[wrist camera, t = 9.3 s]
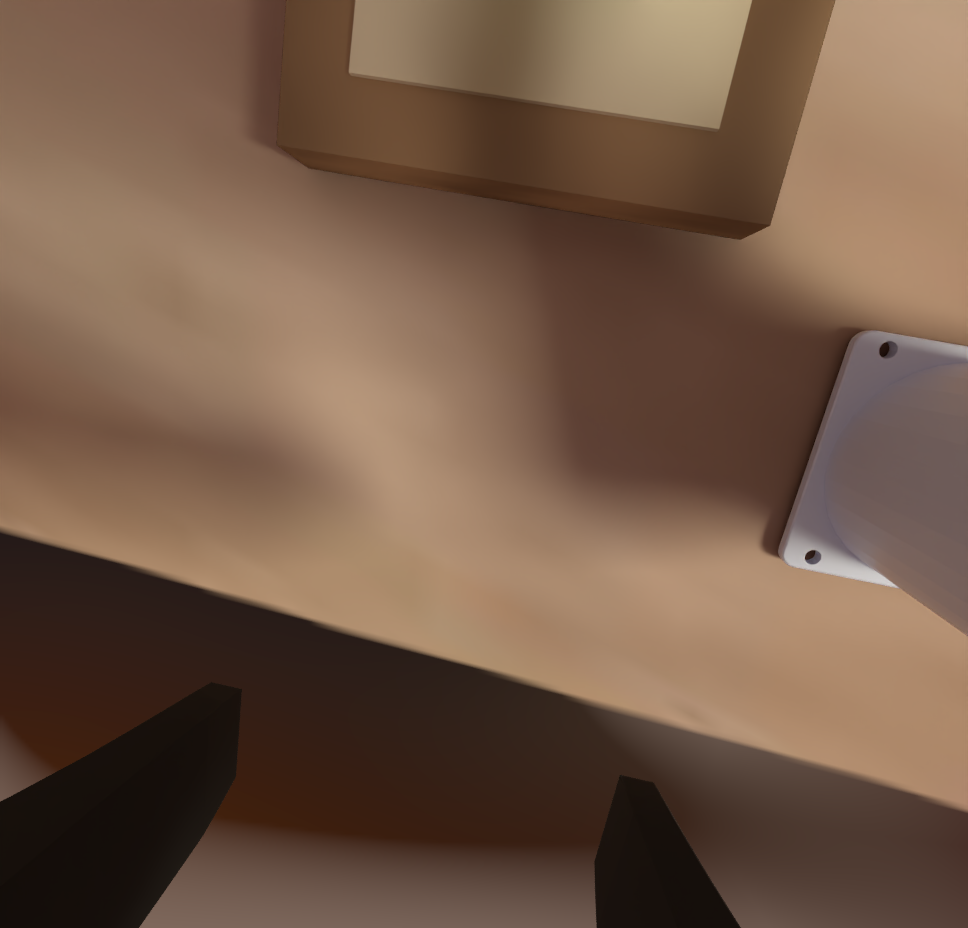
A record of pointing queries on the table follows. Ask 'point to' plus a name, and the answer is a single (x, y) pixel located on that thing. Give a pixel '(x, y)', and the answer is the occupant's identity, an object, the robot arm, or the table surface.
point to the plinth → (559, 101)
